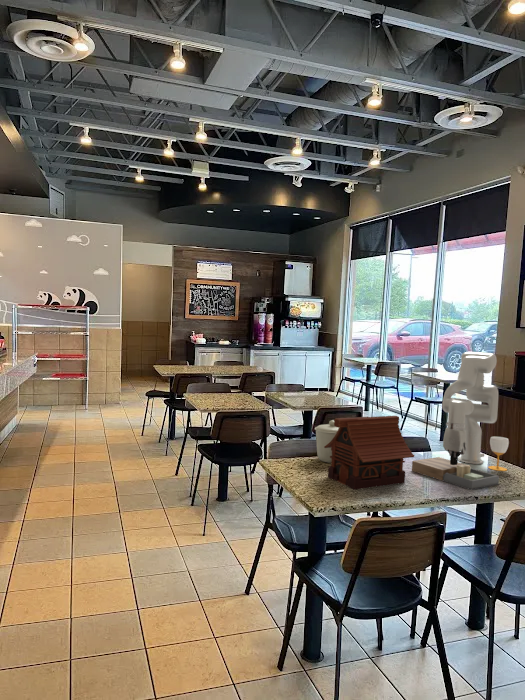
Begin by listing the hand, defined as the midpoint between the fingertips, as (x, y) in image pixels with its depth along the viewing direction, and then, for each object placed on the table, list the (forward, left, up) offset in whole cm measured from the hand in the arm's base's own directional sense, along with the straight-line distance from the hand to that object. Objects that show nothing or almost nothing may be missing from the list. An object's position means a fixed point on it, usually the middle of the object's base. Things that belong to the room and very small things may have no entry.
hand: (453, 464), depth 248 cm
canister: (+35, -48, -6) cm, 60 cm away
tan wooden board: (0, -7, -6) cm, 10 cm away
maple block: (0, +4, -2) cm, 5 cm away
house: (+44, -15, -6) cm, 47 cm away
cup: (-37, 0, -6) cm, 38 cm away
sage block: (0, +11, -2) cm, 11 cm away
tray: (0, +10, -6) cm, 11 cm away
